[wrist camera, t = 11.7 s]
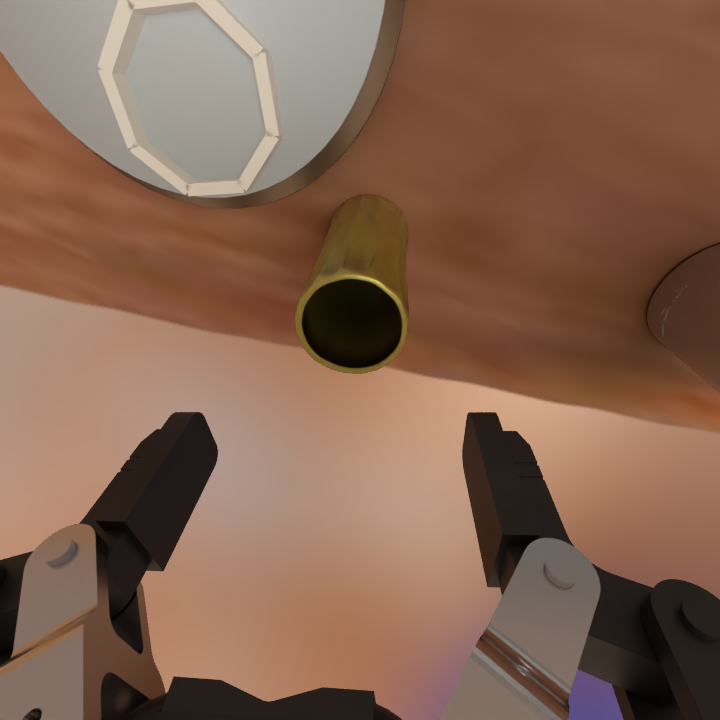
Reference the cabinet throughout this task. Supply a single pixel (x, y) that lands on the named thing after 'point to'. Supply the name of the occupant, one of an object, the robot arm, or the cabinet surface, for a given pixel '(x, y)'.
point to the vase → (357, 289)
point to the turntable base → (339, 141)
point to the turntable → (196, 82)
